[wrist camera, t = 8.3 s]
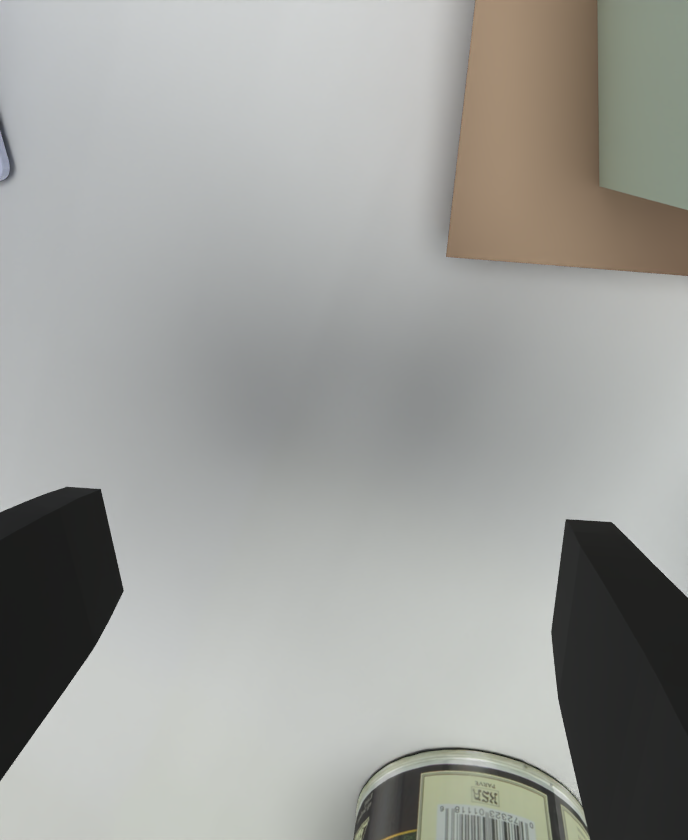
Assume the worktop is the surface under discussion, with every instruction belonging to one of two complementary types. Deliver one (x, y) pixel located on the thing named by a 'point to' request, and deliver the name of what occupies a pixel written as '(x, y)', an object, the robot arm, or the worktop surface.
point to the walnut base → (547, 151)
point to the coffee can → (466, 801)
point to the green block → (644, 98)
